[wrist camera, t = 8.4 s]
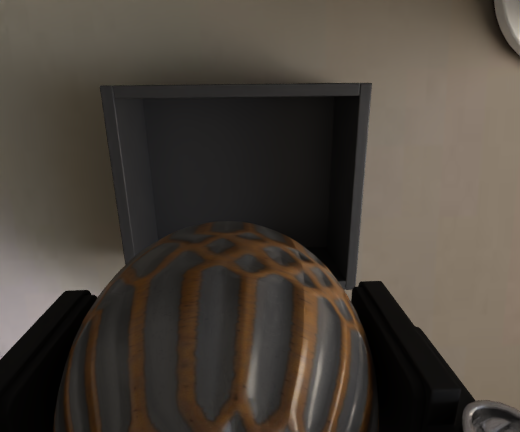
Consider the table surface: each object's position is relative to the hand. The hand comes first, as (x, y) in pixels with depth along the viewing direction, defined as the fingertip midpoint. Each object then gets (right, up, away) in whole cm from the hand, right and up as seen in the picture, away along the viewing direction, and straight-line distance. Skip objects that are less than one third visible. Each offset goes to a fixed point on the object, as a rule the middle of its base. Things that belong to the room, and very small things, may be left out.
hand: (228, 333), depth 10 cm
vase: (0, +1, +2) cm, 2 cm away
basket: (-1, +6, +18) cm, 19 cm away
